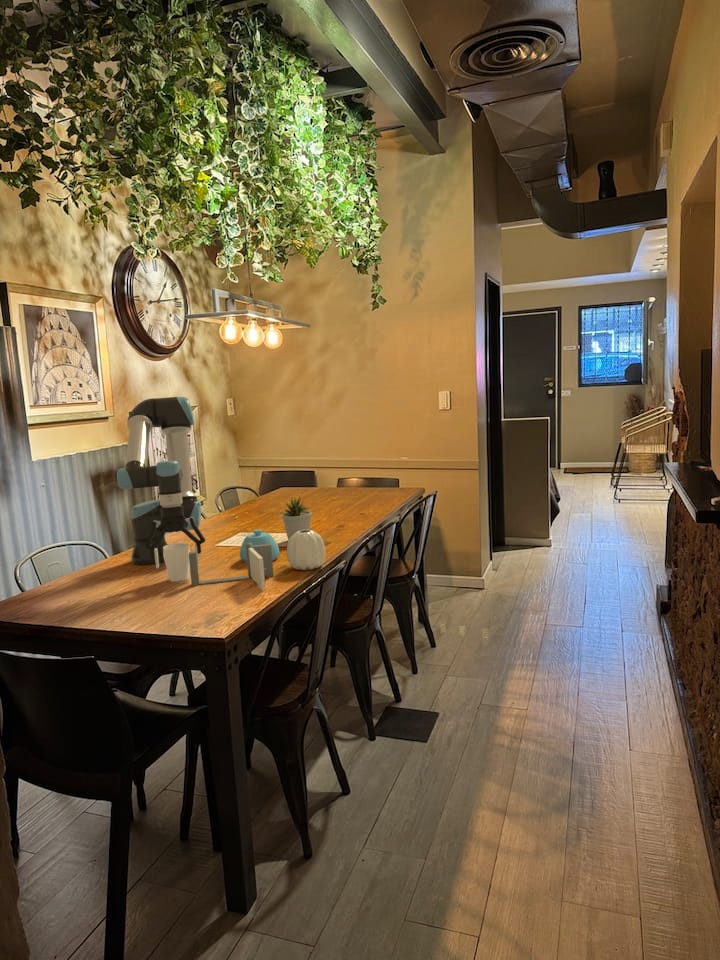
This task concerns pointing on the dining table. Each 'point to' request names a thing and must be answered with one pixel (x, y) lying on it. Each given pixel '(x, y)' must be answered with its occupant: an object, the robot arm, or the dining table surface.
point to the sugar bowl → (259, 543)
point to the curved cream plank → (257, 568)
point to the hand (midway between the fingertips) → (177, 565)
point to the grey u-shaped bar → (267, 562)
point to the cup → (177, 561)
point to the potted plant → (296, 518)
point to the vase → (305, 550)
